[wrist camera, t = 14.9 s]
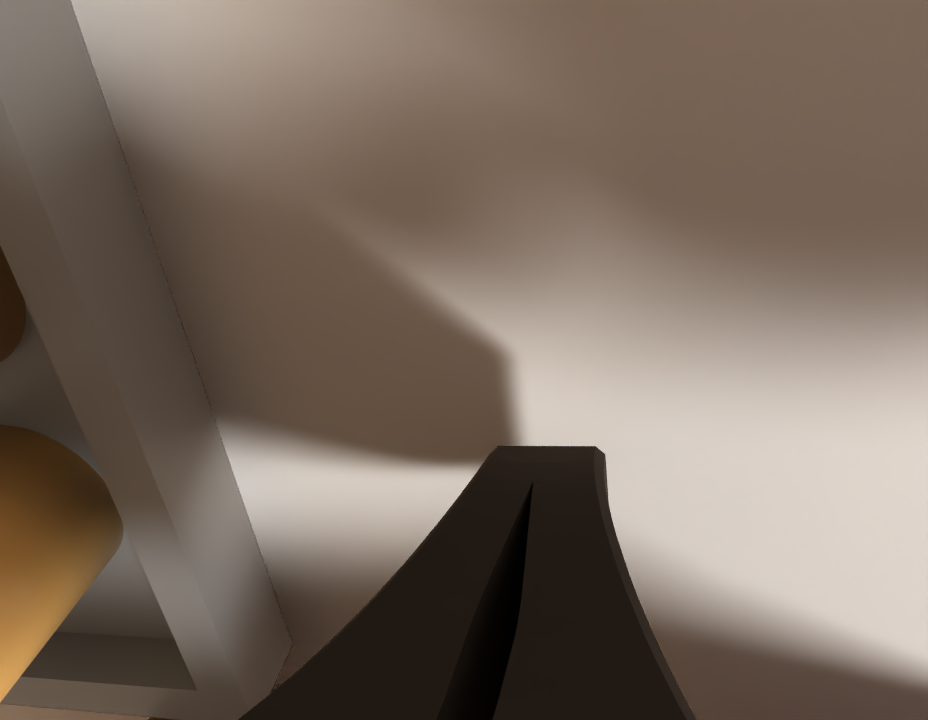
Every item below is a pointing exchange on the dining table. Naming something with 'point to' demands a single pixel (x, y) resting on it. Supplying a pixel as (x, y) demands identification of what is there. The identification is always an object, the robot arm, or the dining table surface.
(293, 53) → the dining table surface
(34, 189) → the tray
